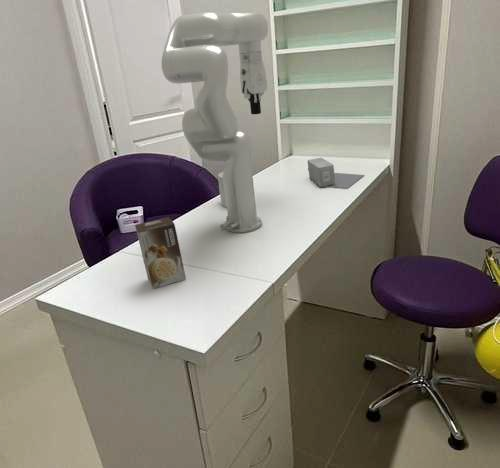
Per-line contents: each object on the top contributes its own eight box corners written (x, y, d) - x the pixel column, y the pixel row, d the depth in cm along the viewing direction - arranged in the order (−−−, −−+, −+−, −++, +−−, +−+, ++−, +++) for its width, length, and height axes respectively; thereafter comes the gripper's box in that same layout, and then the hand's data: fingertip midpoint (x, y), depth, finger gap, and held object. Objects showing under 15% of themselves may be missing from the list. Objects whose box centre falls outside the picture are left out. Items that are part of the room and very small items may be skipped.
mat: (347, 189, 164) (347, 188, 164) (316, 186, 172) (316, 185, 172) (364, 175, 178) (364, 175, 177) (335, 173, 185) (335, 172, 185)
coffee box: (180, 269, 117) (169, 215, 110) (186, 279, 111) (175, 223, 105) (147, 279, 114) (134, 224, 107) (151, 289, 108) (138, 232, 102)
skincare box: (334, 164, 165) (323, 155, 180) (316, 168, 165) (306, 159, 180) (335, 185, 169) (324, 174, 183) (318, 188, 169) (308, 178, 183)
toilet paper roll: (257, 198, 165) (254, 169, 161) (242, 209, 156) (239, 178, 151) (231, 196, 171) (228, 168, 166) (215, 206, 162) (211, 177, 157)
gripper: (247, 59, 136) (252, 117, 144) (271, 55, 147) (276, 110, 155) (228, 61, 141) (235, 117, 148) (254, 57, 151) (258, 110, 159)
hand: (256, 113), depth 151 cm, fingers closed
